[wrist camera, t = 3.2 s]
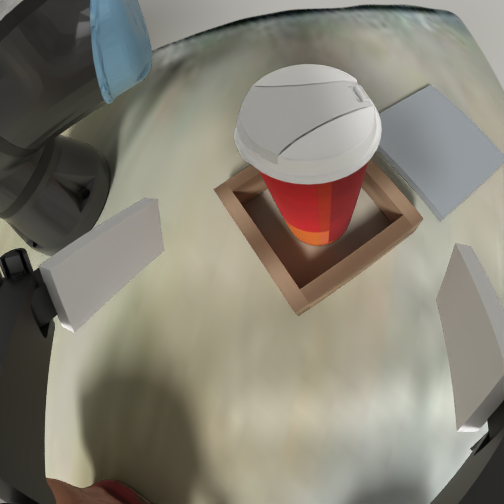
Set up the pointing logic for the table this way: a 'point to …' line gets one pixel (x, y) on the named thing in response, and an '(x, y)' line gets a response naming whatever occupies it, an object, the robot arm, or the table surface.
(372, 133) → the paper cup
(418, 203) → the table surface
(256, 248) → the walnut collar
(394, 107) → the slate pad
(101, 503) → the decorative planter
